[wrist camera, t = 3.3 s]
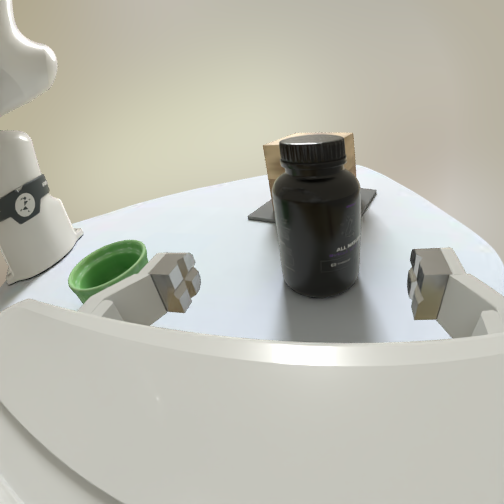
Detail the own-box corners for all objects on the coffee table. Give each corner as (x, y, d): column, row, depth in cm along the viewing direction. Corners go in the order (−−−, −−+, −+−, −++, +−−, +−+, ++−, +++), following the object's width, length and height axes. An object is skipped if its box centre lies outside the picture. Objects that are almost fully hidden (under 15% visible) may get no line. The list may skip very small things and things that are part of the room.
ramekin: (73, 320, 25) (53, 287, 23) (114, 271, 32) (101, 241, 30) (132, 331, 22) (110, 293, 20) (173, 272, 30) (160, 236, 27)
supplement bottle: (358, 303, 21) (359, 145, 15) (275, 298, 23) (249, 152, 17) (359, 255, 26) (355, 130, 20) (291, 253, 29) (275, 134, 22)
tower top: (268, 178, 36) (262, 145, 33) (299, 161, 41) (295, 133, 39) (334, 183, 30) (331, 144, 28) (355, 164, 36) (353, 133, 34)
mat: (248, 218, 38) (247, 216, 38) (296, 184, 47) (295, 182, 47) (349, 234, 30) (349, 231, 30) (376, 192, 39) (376, 189, 39)
